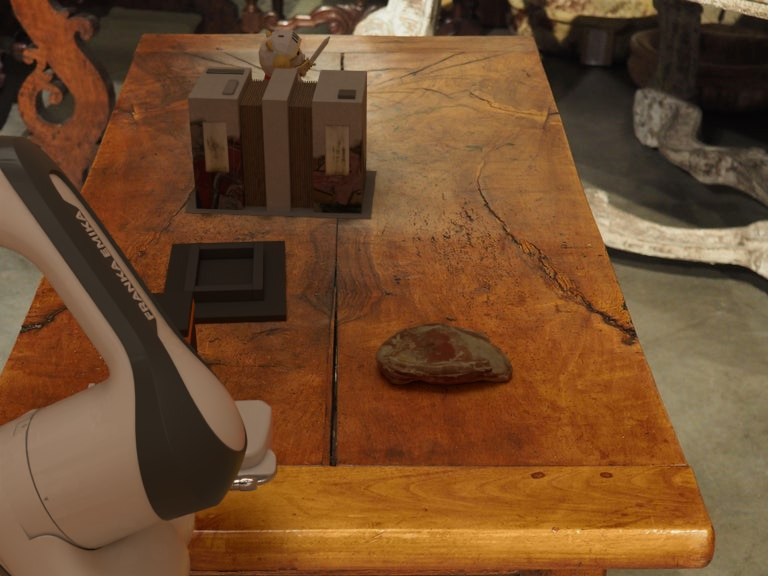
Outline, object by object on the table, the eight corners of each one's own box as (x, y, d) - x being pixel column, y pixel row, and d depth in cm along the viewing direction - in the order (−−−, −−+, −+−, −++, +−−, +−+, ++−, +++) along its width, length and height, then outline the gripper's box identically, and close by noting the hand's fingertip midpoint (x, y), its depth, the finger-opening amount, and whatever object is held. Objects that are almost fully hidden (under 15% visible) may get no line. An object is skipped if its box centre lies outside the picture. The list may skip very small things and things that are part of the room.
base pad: (159, 325, 119) (157, 307, 117) (172, 249, 134) (171, 232, 133) (286, 320, 120) (285, 303, 119) (284, 245, 135) (284, 229, 134)
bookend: (370, 219, 142) (372, 102, 134) (183, 213, 143) (173, 97, 135) (376, 170, 156) (377, 62, 148) (205, 165, 157) (197, 57, 149)
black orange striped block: (148, 418, 104) (137, 331, 99) (154, 376, 110) (145, 292, 105) (196, 416, 104) (188, 329, 99) (200, 375, 110) (193, 291, 105)
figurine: (312, 140, 166) (311, 45, 158) (241, 134, 167) (236, 40, 160) (330, 111, 177) (330, 21, 169) (263, 105, 178) (259, 16, 171)
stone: (481, 335, 118) (483, 310, 117) (517, 383, 110) (519, 358, 108) (364, 351, 115) (365, 326, 113) (392, 403, 106) (393, 377, 105)
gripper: (275, 454, 79) (275, 351, 91) (-9, 467, 78) (29, 361, 90) (278, 519, 82) (278, 411, 94) (6, 532, 81) (40, 421, 93)
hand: (155, 387), depth 92 cm, fingers open, 8 cm apart
